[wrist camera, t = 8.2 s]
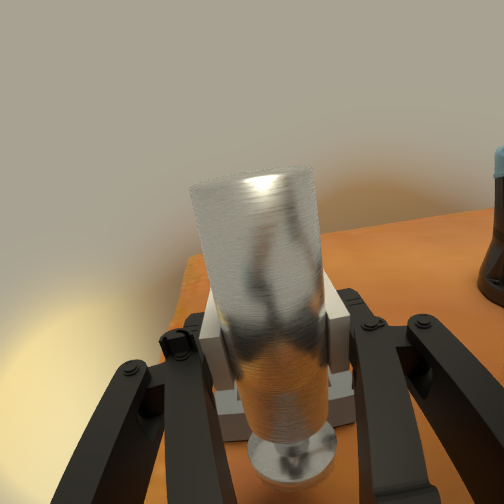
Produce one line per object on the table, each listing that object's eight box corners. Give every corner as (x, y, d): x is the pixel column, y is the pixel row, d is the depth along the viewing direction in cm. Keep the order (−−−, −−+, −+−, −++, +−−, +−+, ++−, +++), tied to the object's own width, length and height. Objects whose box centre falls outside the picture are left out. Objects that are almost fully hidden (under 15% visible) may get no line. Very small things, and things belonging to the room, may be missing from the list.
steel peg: (349, 444, 15) (351, 161, 10) (306, 505, 11) (266, 187, 6) (283, 419, 18) (242, 170, 13) (236, 469, 15) (144, 197, 9)
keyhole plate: (355, 421, 23) (359, 393, 21) (222, 441, 23) (212, 415, 22) (315, 313, 42) (313, 288, 40) (231, 326, 42) (225, 302, 41)
